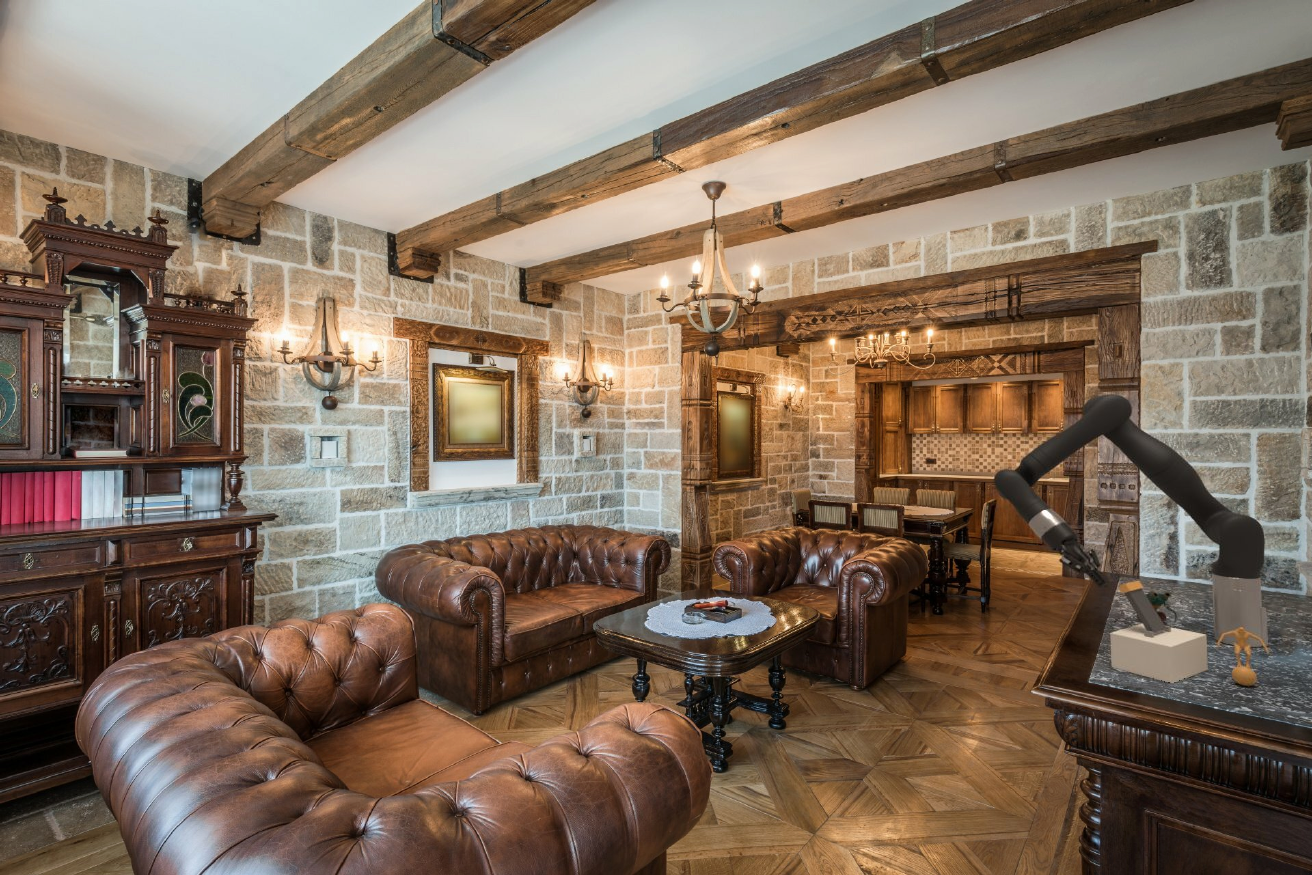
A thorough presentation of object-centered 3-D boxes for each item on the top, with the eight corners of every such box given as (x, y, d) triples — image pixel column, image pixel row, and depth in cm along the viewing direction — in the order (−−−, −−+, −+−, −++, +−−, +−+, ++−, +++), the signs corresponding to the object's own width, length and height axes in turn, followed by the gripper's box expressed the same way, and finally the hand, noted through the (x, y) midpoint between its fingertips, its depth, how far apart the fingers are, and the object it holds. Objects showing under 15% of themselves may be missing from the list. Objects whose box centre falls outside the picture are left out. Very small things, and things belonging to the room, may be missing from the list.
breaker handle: (1147, 635, 145) (1117, 586, 150) (1161, 631, 148) (1130, 583, 153) (1156, 633, 144) (1125, 583, 149) (1169, 629, 146) (1138, 580, 152)
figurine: (1219, 683, 136) (1217, 628, 136) (1217, 675, 141) (1215, 621, 141) (1272, 692, 131) (1270, 634, 131) (1268, 683, 136) (1266, 627, 136)
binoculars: (1172, 631, 179) (1158, 597, 184) (1192, 621, 171) (1176, 586, 177) (1137, 631, 180) (1124, 597, 185) (1155, 621, 172) (1141, 586, 177)
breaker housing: (1111, 666, 147) (1110, 627, 148) (1147, 654, 155) (1145, 617, 155) (1172, 683, 137) (1170, 641, 137) (1207, 669, 144) (1206, 629, 144)
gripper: (1047, 523, 161) (1101, 579, 150) (1077, 519, 167) (1130, 572, 156) (1027, 541, 166) (1078, 597, 155) (1057, 536, 172) (1108, 589, 161)
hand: (1104, 584), depth 156 cm, fingers closed
